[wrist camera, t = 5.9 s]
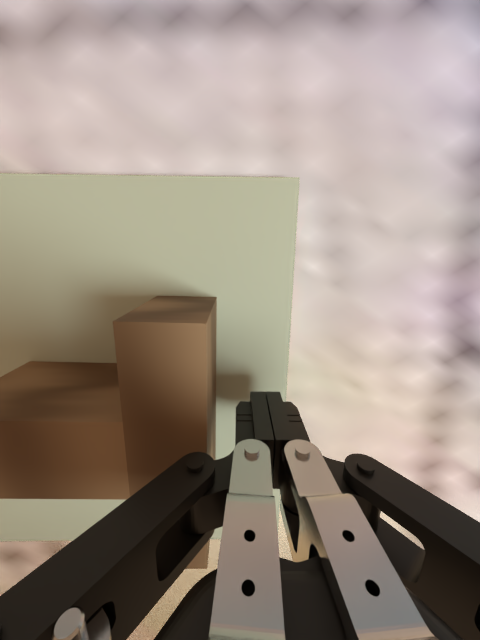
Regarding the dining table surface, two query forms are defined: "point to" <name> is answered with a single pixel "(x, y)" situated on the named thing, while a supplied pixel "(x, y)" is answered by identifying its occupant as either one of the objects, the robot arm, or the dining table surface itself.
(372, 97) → the dining table surface
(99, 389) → the t block
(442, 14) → the dining table surface
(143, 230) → the board
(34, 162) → the dining table surface
